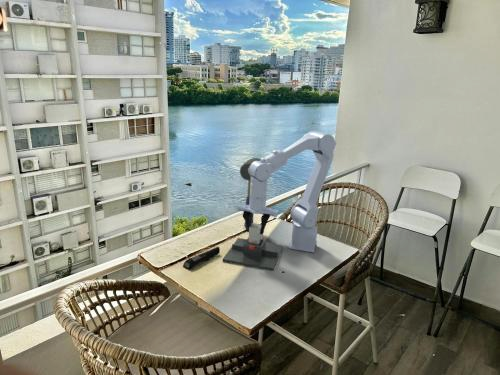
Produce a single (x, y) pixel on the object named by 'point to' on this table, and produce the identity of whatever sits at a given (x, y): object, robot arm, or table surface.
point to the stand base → (254, 254)
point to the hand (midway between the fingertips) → (255, 232)
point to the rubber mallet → (247, 176)
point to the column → (255, 234)
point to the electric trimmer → (201, 258)
